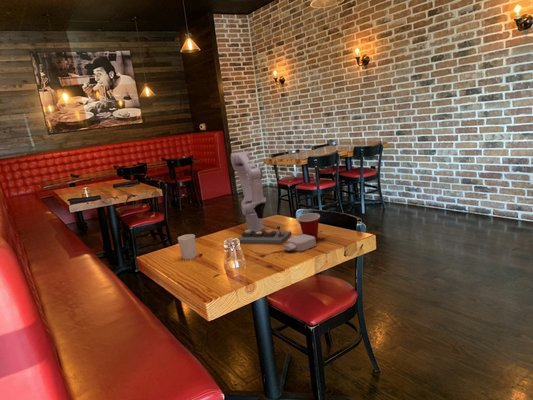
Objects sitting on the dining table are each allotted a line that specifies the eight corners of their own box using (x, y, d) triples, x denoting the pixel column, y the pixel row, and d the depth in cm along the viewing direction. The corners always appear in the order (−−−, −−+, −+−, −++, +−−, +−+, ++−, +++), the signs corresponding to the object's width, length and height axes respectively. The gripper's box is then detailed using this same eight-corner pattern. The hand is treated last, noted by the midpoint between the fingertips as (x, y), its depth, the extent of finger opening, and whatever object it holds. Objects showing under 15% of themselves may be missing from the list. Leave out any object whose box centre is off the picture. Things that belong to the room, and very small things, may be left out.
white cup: (201, 254, 189) (197, 234, 187) (192, 260, 182) (189, 239, 180) (186, 254, 192) (183, 234, 190) (177, 260, 184) (174, 239, 182)
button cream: (257, 234, 202) (257, 231, 202) (263, 234, 201) (263, 231, 201) (255, 236, 199) (254, 233, 199) (260, 236, 198) (260, 233, 198)
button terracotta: (268, 232, 200) (267, 229, 199) (274, 232, 198) (273, 229, 198) (265, 234, 197) (265, 231, 196) (271, 234, 196) (271, 231, 195)
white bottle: (277, 252, 179) (303, 243, 187) (290, 256, 172) (316, 246, 180) (276, 242, 178) (302, 233, 186) (289, 246, 171) (315, 236, 179)
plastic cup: (296, 244, 186) (293, 219, 184) (303, 236, 196) (300, 213, 193) (319, 244, 182) (316, 219, 179) (325, 237, 192) (322, 212, 189)
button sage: (246, 232, 205) (246, 229, 204) (252, 232, 203) (252, 229, 203) (244, 234, 202) (243, 231, 201) (249, 234, 200) (249, 231, 200)
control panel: (248, 234, 211) (248, 227, 210) (291, 235, 201) (290, 227, 200) (236, 243, 198) (235, 236, 198) (281, 244, 188) (280, 236, 188)
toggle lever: (279, 231, 196) (276, 224, 193) (283, 231, 195) (280, 224, 192) (278, 234, 195) (275, 227, 191) (282, 234, 194) (279, 227, 191)
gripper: (258, 194, 191) (261, 222, 194) (270, 188, 204) (273, 214, 207) (245, 195, 194) (248, 222, 197) (257, 189, 207) (260, 214, 210)
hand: (260, 218), depth 202 cm, fingers closed
